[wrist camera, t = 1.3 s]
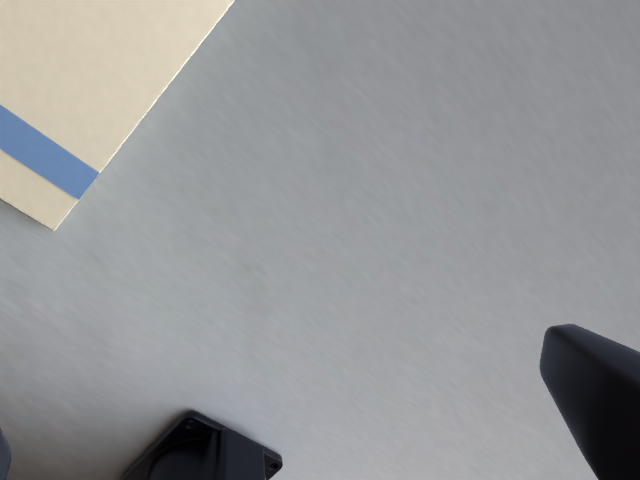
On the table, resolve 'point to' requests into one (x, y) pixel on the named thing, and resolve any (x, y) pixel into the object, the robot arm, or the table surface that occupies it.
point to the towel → (83, 88)
